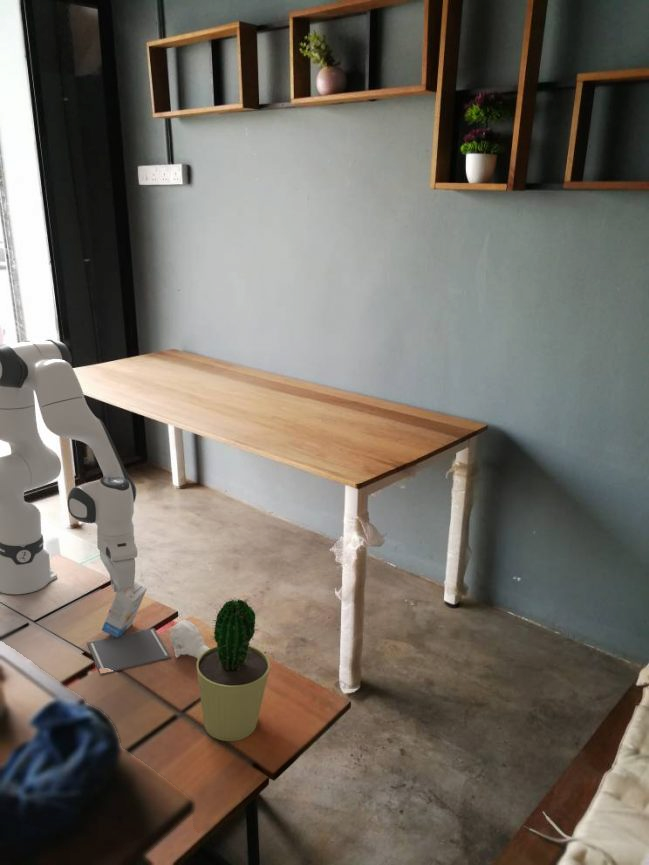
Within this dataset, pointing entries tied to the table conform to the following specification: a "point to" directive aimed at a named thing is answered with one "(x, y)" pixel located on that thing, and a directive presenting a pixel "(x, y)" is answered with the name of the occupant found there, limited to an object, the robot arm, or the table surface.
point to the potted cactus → (232, 675)
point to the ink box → (123, 610)
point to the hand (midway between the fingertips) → (116, 589)
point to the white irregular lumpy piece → (187, 640)
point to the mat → (128, 650)
